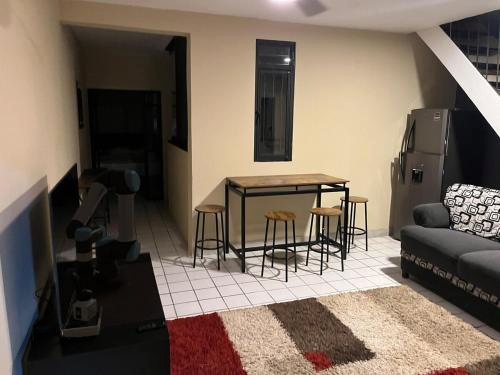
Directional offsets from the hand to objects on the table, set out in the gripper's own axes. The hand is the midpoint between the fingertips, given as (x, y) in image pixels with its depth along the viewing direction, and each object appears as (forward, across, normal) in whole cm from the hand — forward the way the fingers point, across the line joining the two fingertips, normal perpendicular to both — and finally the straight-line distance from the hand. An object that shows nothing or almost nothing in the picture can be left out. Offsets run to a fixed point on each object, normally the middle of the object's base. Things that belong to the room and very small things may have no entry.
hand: (86, 303), depth 196 cm
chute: (+3, 0, -13) cm, 13 cm away
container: (+3, 0, -7) cm, 8 cm away
